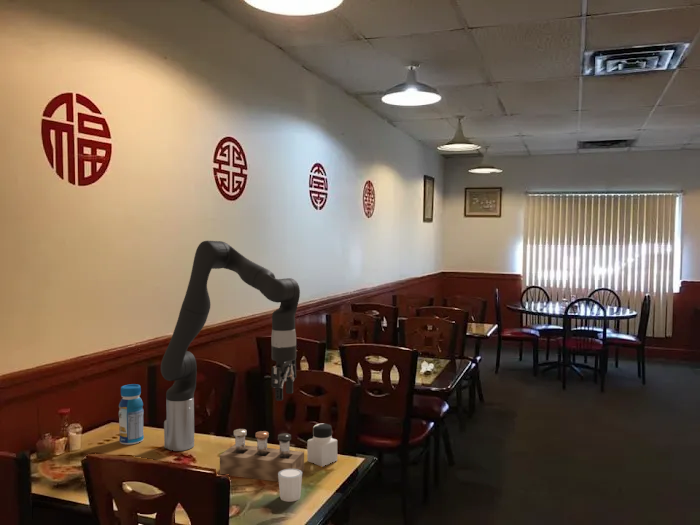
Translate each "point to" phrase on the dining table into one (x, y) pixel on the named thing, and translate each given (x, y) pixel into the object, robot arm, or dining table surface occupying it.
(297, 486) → the white cup
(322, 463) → the medicine bottle
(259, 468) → the walnut block
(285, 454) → the grey capped glass jar
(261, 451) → the copper-capped glass cylinder
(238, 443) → the cream plunger
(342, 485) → the dining table surface
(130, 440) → the beverage bottle
